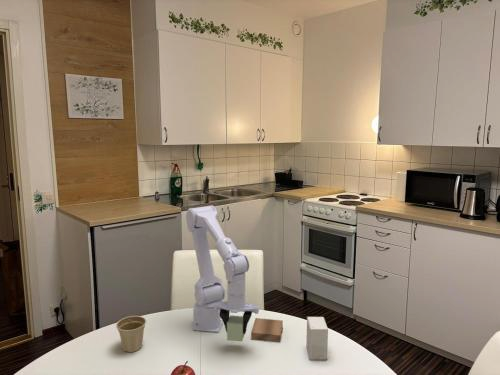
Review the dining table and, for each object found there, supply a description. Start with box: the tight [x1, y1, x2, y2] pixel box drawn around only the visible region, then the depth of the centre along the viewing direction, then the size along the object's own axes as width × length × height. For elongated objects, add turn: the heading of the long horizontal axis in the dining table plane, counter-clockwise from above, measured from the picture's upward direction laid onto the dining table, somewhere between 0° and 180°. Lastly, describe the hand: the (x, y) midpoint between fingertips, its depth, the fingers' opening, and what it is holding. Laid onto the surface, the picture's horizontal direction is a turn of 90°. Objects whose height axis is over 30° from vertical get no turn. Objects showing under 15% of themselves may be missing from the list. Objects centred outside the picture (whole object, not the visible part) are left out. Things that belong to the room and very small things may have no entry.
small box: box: [306, 316, 329, 361], centre depth 121 cm, size 8×6×10 cm
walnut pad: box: [250, 317, 284, 343], centre depth 133 cm, size 10×10×3 cm
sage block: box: [226, 314, 246, 343], centre depth 123 cm, size 5×5×6 cm
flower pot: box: [115, 315, 147, 353], centre depth 124 cm, size 9×9×9 cm
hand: (236, 331), depth 123 cm, fingers closed on sage block, 5 cm apart
